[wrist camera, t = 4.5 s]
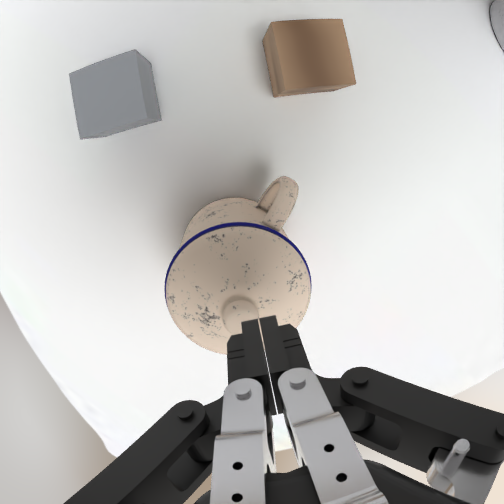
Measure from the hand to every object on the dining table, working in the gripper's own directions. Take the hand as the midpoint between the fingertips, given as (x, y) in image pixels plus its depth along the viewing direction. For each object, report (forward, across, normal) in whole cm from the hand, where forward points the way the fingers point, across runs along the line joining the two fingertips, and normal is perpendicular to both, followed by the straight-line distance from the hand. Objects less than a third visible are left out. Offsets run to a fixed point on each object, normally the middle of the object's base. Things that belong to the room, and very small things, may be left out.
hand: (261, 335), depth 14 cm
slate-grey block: (+15, +7, -13) cm, 21 cm away
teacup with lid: (+15, 0, 0) cm, 15 cm away
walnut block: (+15, -7, -13) cm, 21 cm away
